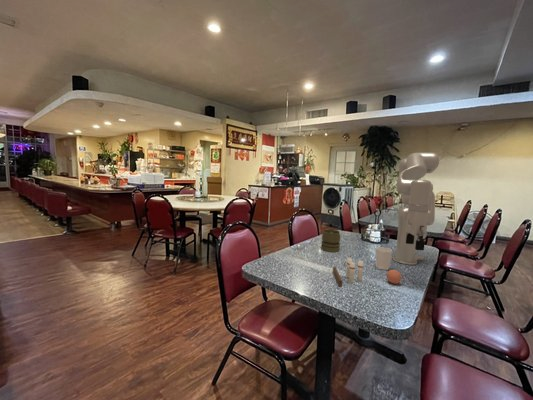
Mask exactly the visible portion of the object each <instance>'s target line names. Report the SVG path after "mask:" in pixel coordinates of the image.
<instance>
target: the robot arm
mask: <svg viewBox="0 0 533 400" xmlns="http://www.w3.org/2000/svg"><path fill="white" fill-rule="evenodd" d="M439 157H440V156H439V154H437V153H436V152H430V151H429V152H413V153H412V152H411V153H410V154H409V155H408V156H406V158H403V159H401V160H400V162H399V164H398V165H399V166H398V170H399V171H398V172H399V174H398V177H397V179H396V191H397V193H398V194H399V195H401V201H402V204H403V205H406V206H401V207H399V209H398V212H397V221H398V224H397V225H398V226H397V237H396V248H395V255H393V256H392V257H391V260H393V261H394V262H396V263H400V264H401V265H402V264H403V265H409V266H414V265H417V264H418V260H419V261H421V260H422V261H424V260H425V257H424V256H423V255H422V256H421V255H418V254H416V251H424V250H425V243H426V240H427V236H428V231H427V227H428V226H432V225H433V224H434V223H435V217H436V215H435V214H436V213H435V212H436V211H435V210H436V196H435V192H434V185H433V183H432V182H431V181H430V180H427V179H423V177H425V175H427V174H432V173H433V172H434V171H435V170H437V168H438V167H439V164H440V158H439Z"/></svg>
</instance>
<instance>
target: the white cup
mask: <svg viewBox="0 0 533 400" xmlns="http://www.w3.org/2000/svg"><path fill="white" fill-rule="evenodd" d="M392 255H393V250H392V249H391V248H389V247H384V246H382V247H381V246H378V247H375V268H377V269H379V270H382V271H384V270H385V271H388V270H390V267H391V262H392V257H393V256H392Z"/></svg>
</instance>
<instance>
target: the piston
mask: <svg viewBox="0 0 533 400" xmlns="http://www.w3.org/2000/svg"><path fill="white" fill-rule="evenodd" d="M340 242H341V234H340V230H336V229H323V232H322V235H321V251H324V252H327V253H339V252H340V248H341V247H340V246H341V243H340Z"/></svg>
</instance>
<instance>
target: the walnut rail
mask: <svg viewBox="0 0 533 400" xmlns="http://www.w3.org/2000/svg"><path fill="white" fill-rule="evenodd" d="M332 274H333V275H334V278H335V280H336V283H337V284H338V287H341V288H342V287H343V279H342V278H341V275H340V273H339V271H338V269H337V267H336V266H333V267H332Z"/></svg>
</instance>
